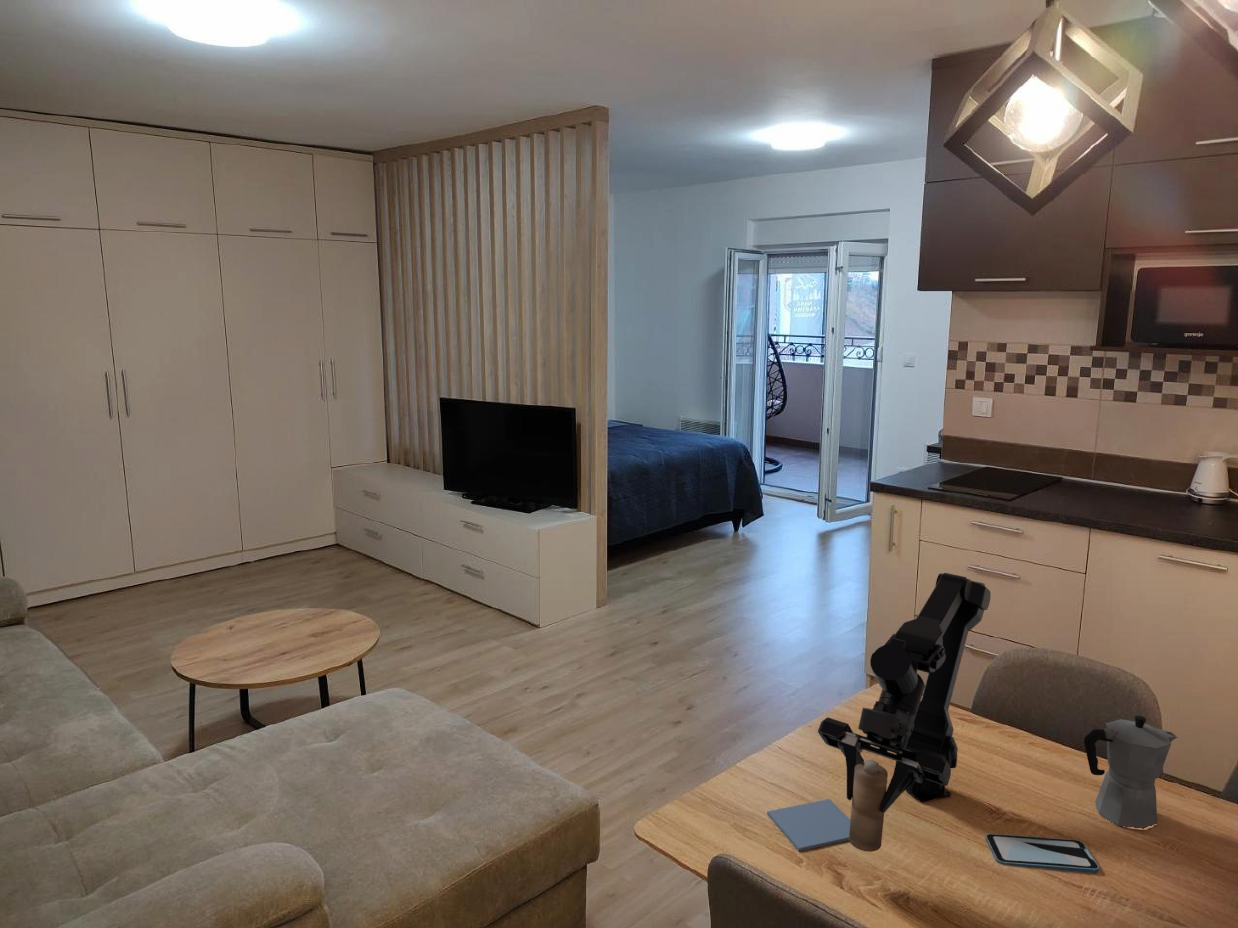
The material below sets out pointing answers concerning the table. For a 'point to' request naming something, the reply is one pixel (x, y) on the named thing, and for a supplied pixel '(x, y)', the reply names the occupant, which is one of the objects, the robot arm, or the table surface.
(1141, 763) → the coffeepot
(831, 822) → the placemat
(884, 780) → the pepper mill
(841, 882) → the table surface
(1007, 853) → the smartphone
